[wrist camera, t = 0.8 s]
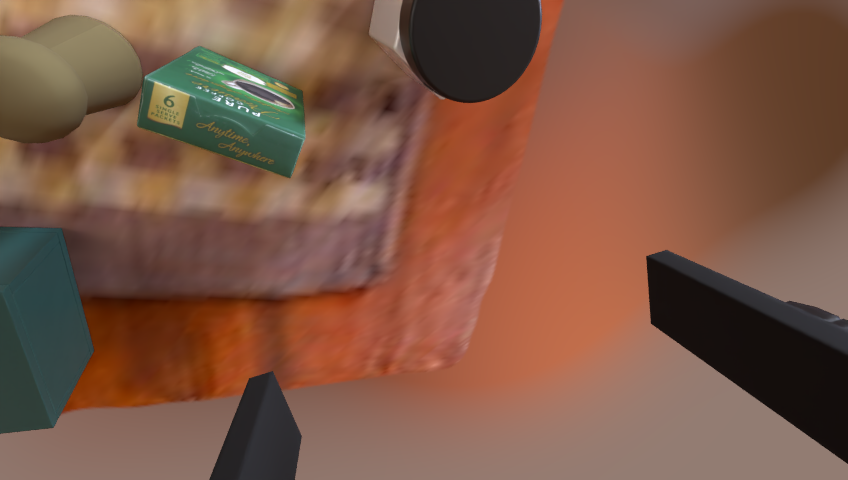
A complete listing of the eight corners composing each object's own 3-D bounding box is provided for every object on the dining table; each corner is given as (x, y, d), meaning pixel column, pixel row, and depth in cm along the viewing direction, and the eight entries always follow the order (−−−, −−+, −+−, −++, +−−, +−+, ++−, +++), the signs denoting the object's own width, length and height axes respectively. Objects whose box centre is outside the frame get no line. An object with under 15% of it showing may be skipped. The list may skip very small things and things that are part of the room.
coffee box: (184, 79, 31) (130, 129, 20) (194, 41, 30) (142, 72, 19) (292, 122, 34) (295, 184, 24) (304, 89, 33) (312, 138, 23)
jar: (383, 86, 35) (422, 125, 25) (351, -25, 30) (382, -30, 20) (480, 53, 36) (554, 78, 26) (462, -59, 31) (545, -80, 21)
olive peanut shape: (109, 125, 31) (36, 182, 22) (15, 59, 27) (-116, 95, 18) (161, 68, 30) (108, 102, 21) (71, -7, 26) (-38, -4, 18)
